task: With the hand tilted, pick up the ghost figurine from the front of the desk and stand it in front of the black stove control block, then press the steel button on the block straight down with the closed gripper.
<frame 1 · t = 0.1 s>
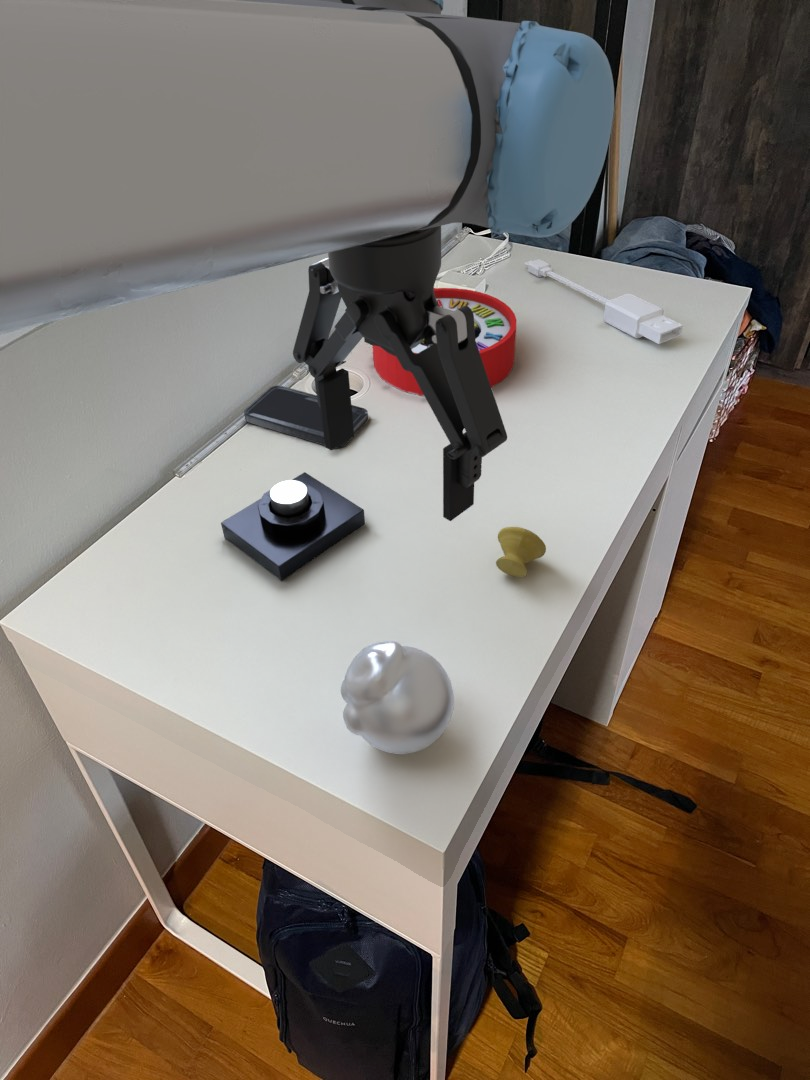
hand: (396, 474, 67), 19 cm above the table, tool pointing down, fingers open, 13 cm apart
stove button: (289, 499, 87), point 5 cm above the table, slide at 0.1 cm
toy clock: (443, 359, 117), on the table
charging cable: (594, 307, 127), on the table
ghost figurine: (398, 730, 71), on the table
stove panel: (295, 531, 90), on the table
knob: (516, 568, 85), on the table
phone: (306, 420, 106), on the table
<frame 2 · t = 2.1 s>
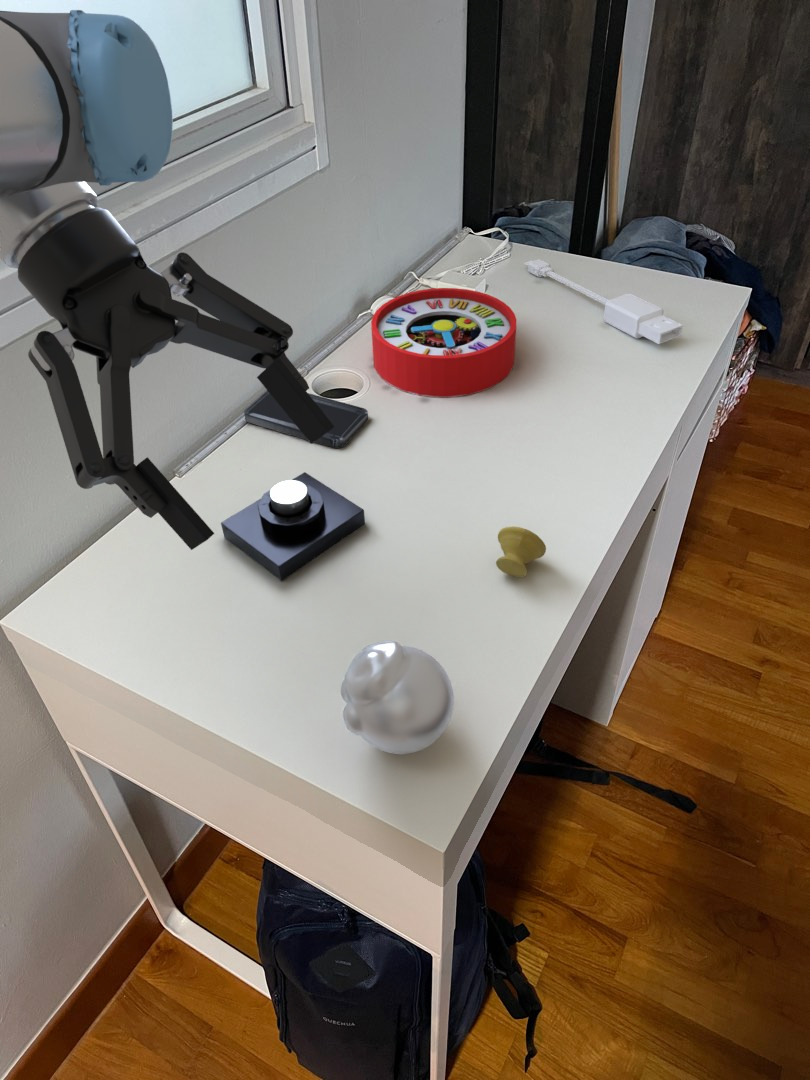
hand: (267, 485, 59), 23 cm above the table, tool tilted 45°, fingers open, 13 cm apart
nothing on the table moved.
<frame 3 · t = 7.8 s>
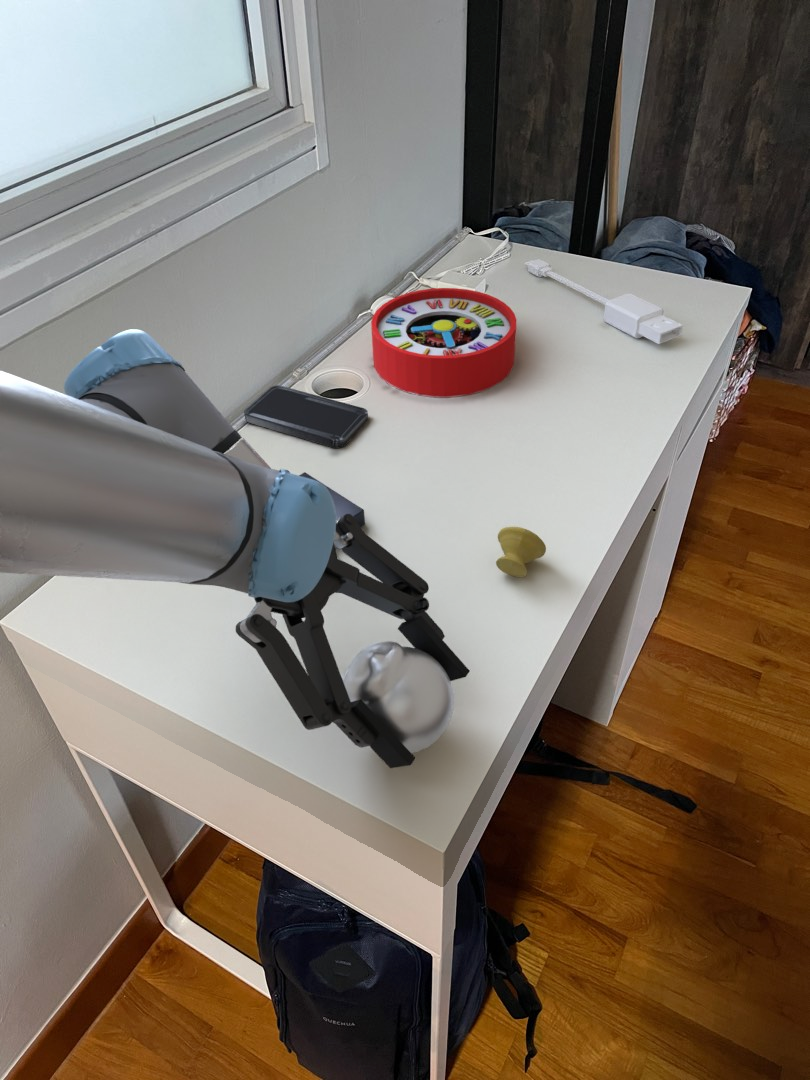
hand: (431, 717, 67), 4 cm above the table, tool tilted 45°, fingers closed on ghost figurine, 9 cm apart
ghost figurine: (398, 730, 71), on the table, touching gripper
everything else where it was.
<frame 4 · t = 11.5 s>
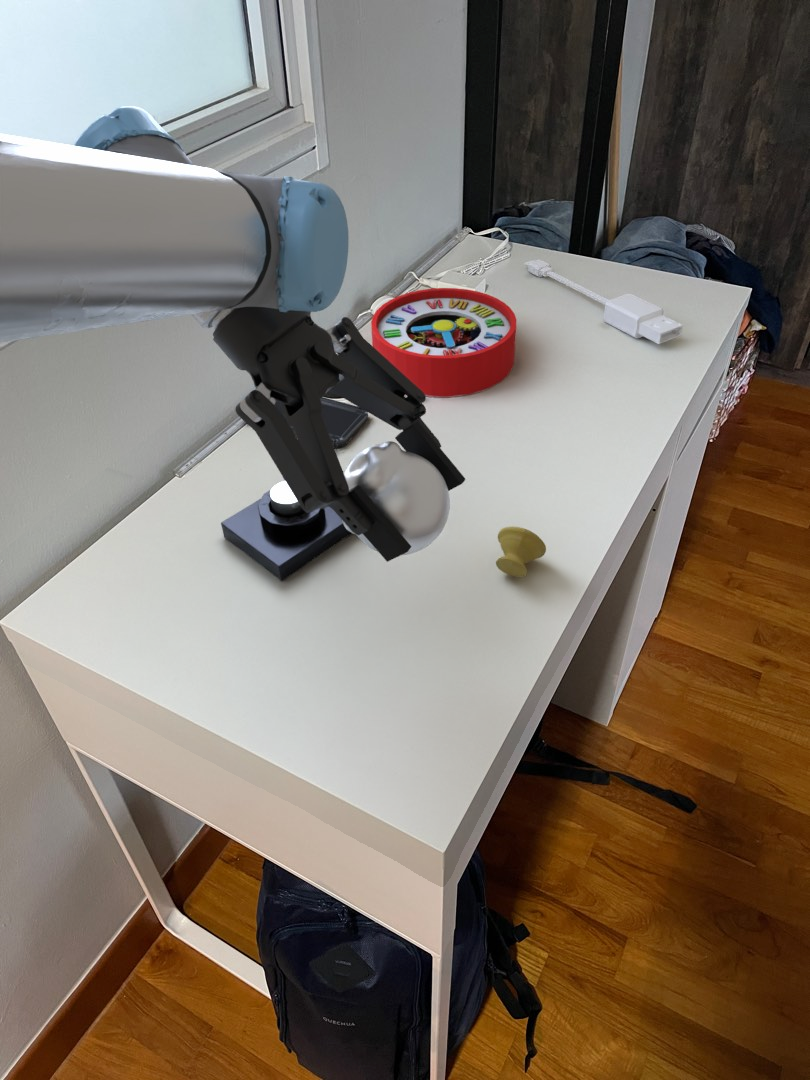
hand: (427, 519, 68), 15 cm above the table, tool tilted 45°, fingers closed on ghost figurine, 9 cm apart
ghost figurine: (395, 542, 72), point 11 cm above the table, touching gripper
everything else where it was.
when the fingers open (4 cm above the table, at t = 15.7 s): ghost figurine stays where it is, on the table.
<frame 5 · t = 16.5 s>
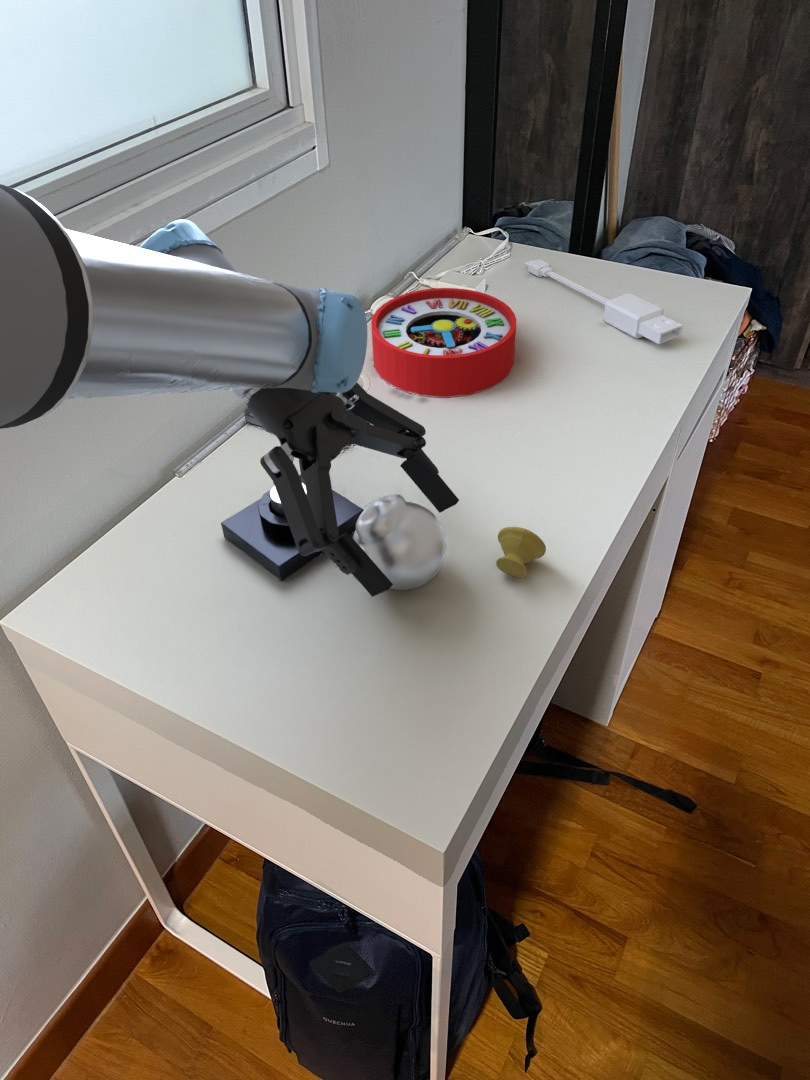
hand: (418, 546, 80), 5 cm above the table, tool tilted 45°, fingers open, 13 cm apart
ghost figurine: (400, 577, 85), on the table
everything else where it was.
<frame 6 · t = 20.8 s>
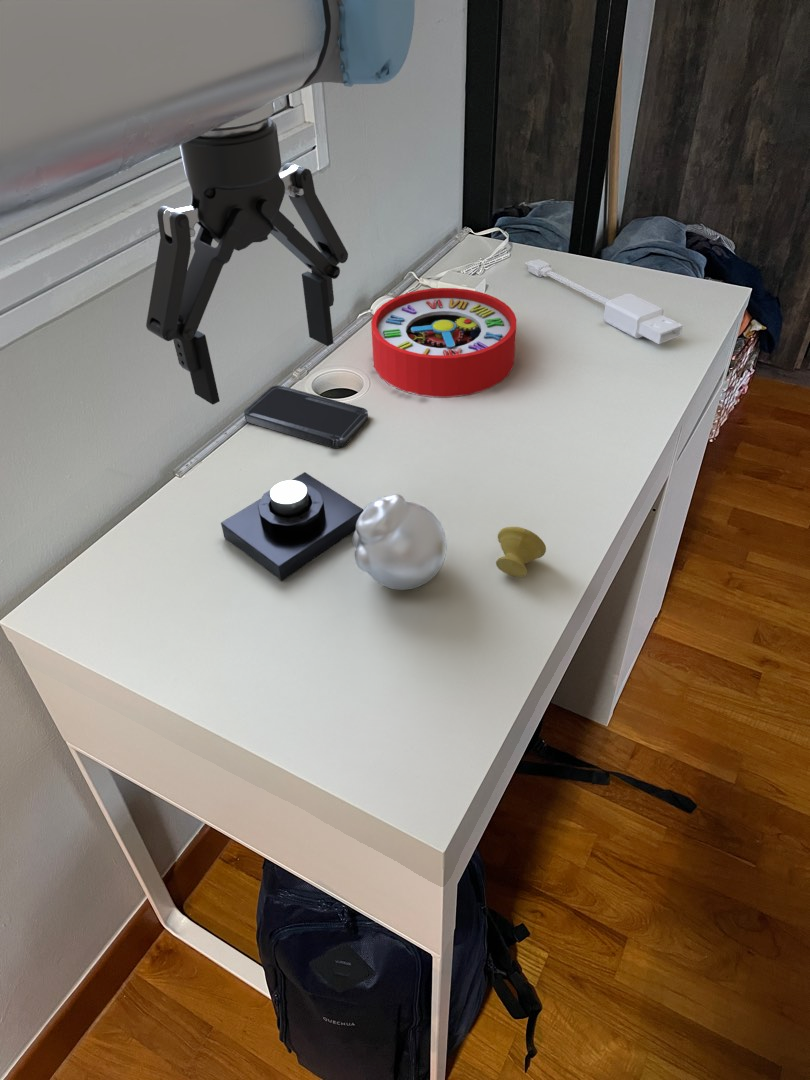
hand: (267, 368, 76), 21 cm above the table, tool pointing down, fingers open, 13 cm apart
nothing on the table moved.
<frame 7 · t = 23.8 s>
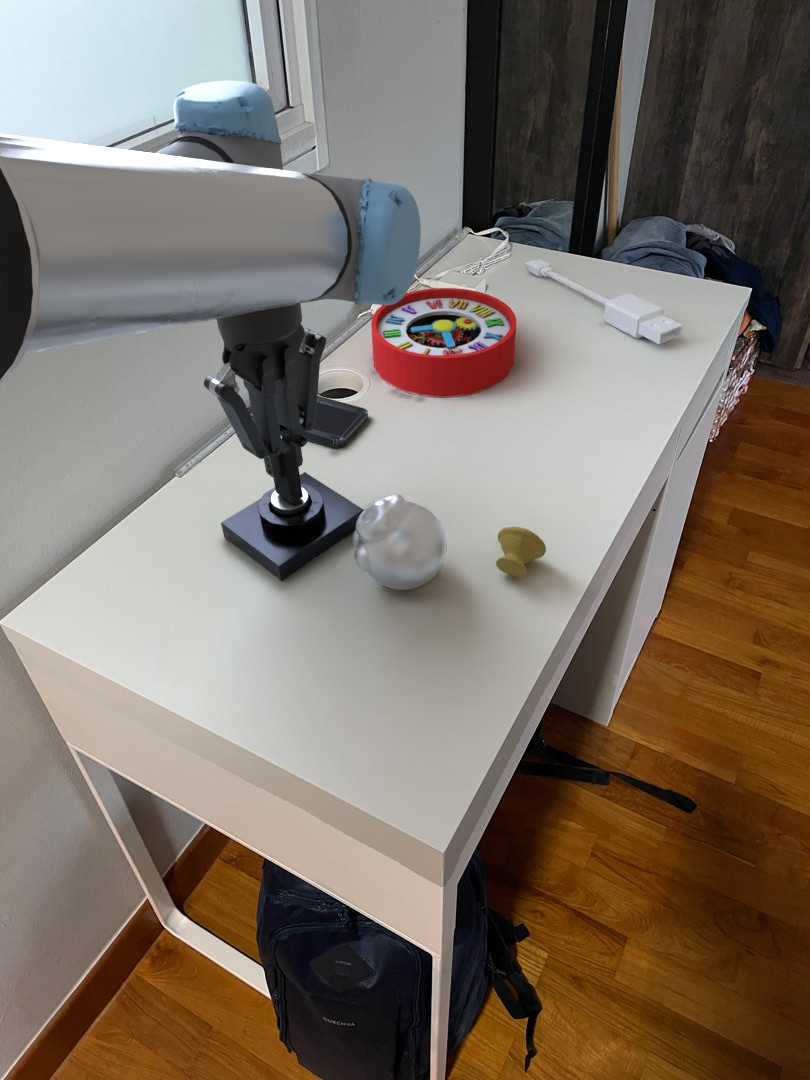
hand: (289, 494, 87), 5 cm above the table, tool pointing down, fingers closed
stove button: (290, 504, 88), point 4 cm above the table, slide at -0.7 cm, touching gripper
everything else where it was.
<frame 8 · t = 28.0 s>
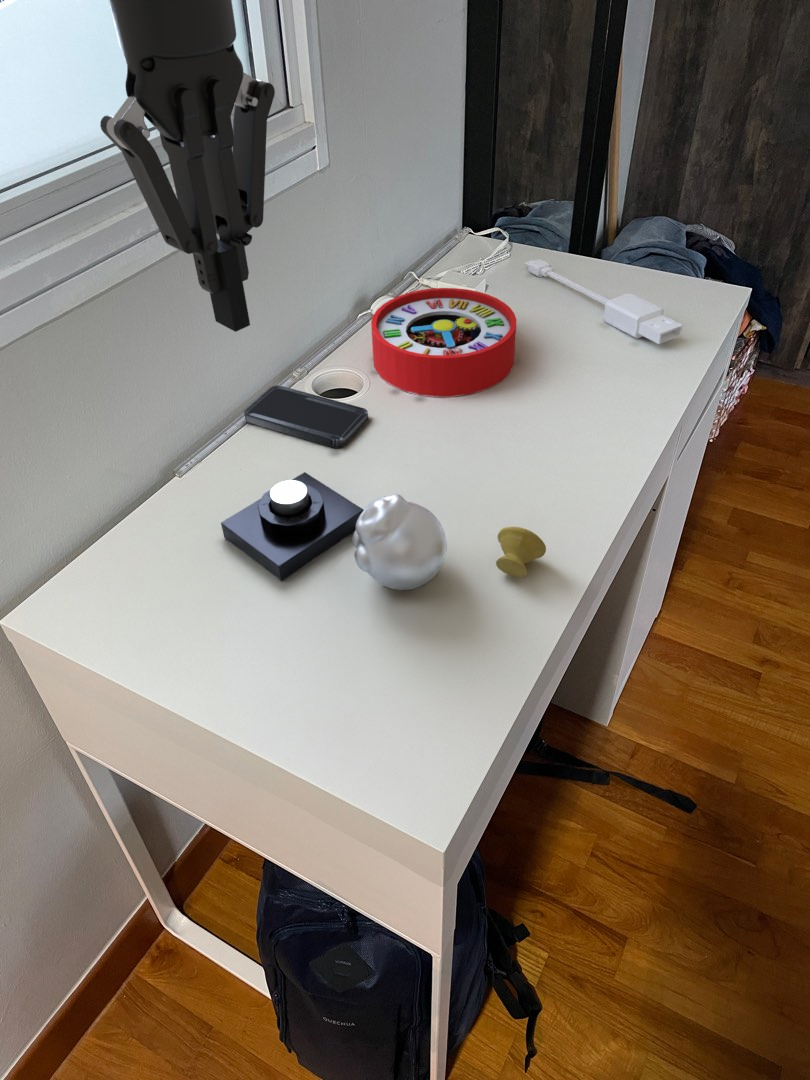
hand: (232, 322, 67), 28 cm above the table, tool pointing down, fingers closed
stove button: (289, 499, 87), point 5 cm above the table, slide at 0.1 cm
everything else where it was.
at the end: ghost figurine inside the target area on the table beside the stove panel (0.1 cm from its centre), on the table; ghost figurine tilted 0°; stove button pushed in 1.0 cm at the most during the clip, back to where it started at the end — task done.
